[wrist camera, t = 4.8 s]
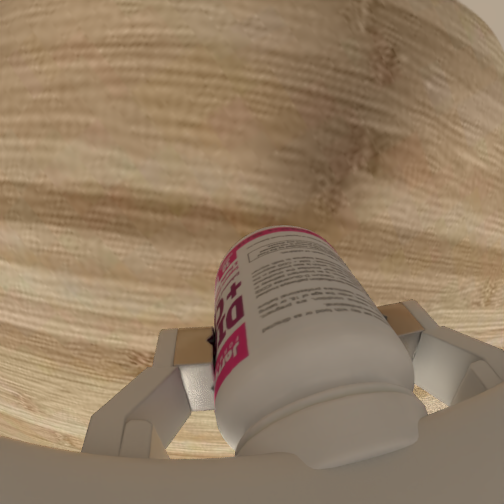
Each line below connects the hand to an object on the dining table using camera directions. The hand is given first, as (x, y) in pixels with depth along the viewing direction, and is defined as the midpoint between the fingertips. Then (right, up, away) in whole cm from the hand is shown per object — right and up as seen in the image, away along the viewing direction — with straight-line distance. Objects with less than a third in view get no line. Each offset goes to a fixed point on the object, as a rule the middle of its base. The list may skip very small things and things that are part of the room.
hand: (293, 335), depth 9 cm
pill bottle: (0, +1, +3) cm, 3 cm away
